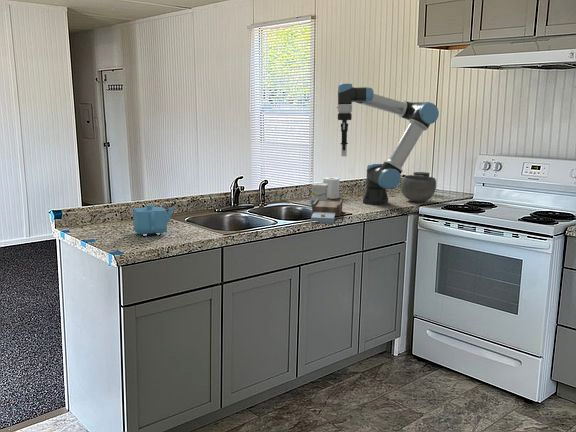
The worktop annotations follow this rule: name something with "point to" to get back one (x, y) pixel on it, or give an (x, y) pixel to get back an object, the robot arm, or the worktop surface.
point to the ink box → (319, 192)
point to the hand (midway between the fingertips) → (344, 156)
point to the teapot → (151, 219)
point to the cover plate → (323, 217)
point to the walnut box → (327, 206)
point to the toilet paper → (332, 187)
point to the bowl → (418, 187)
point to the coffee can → (421, 174)
